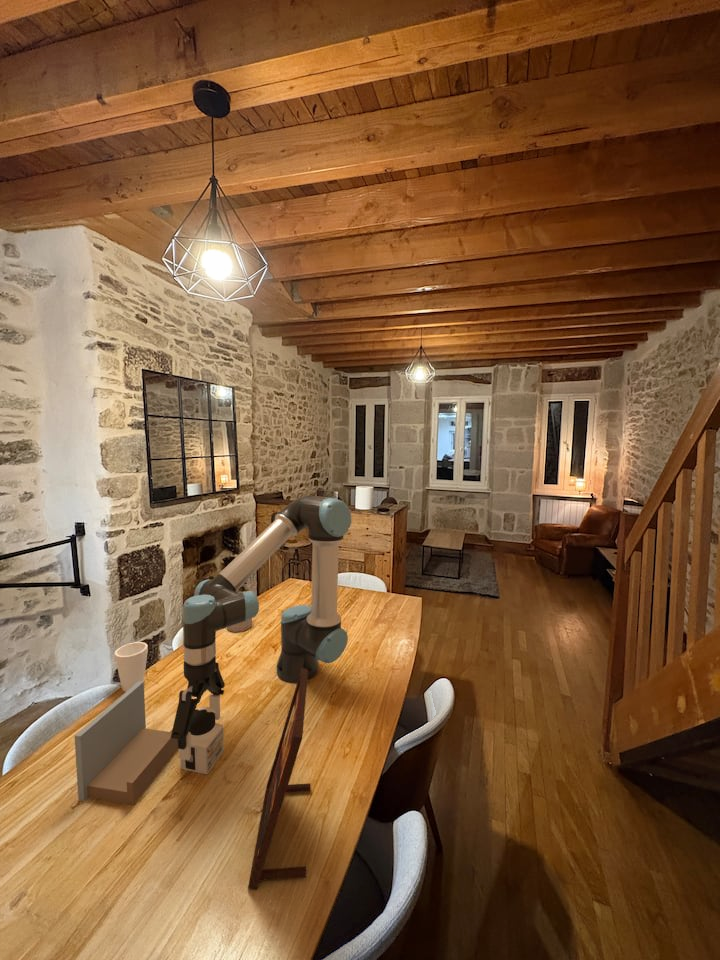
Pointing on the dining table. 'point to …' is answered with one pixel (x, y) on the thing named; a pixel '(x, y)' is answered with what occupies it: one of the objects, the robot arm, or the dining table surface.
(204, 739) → the container
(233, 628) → the planter
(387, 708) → the dining table surface
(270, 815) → the picture frame
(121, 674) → the foam cup
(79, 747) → the wall shelf
